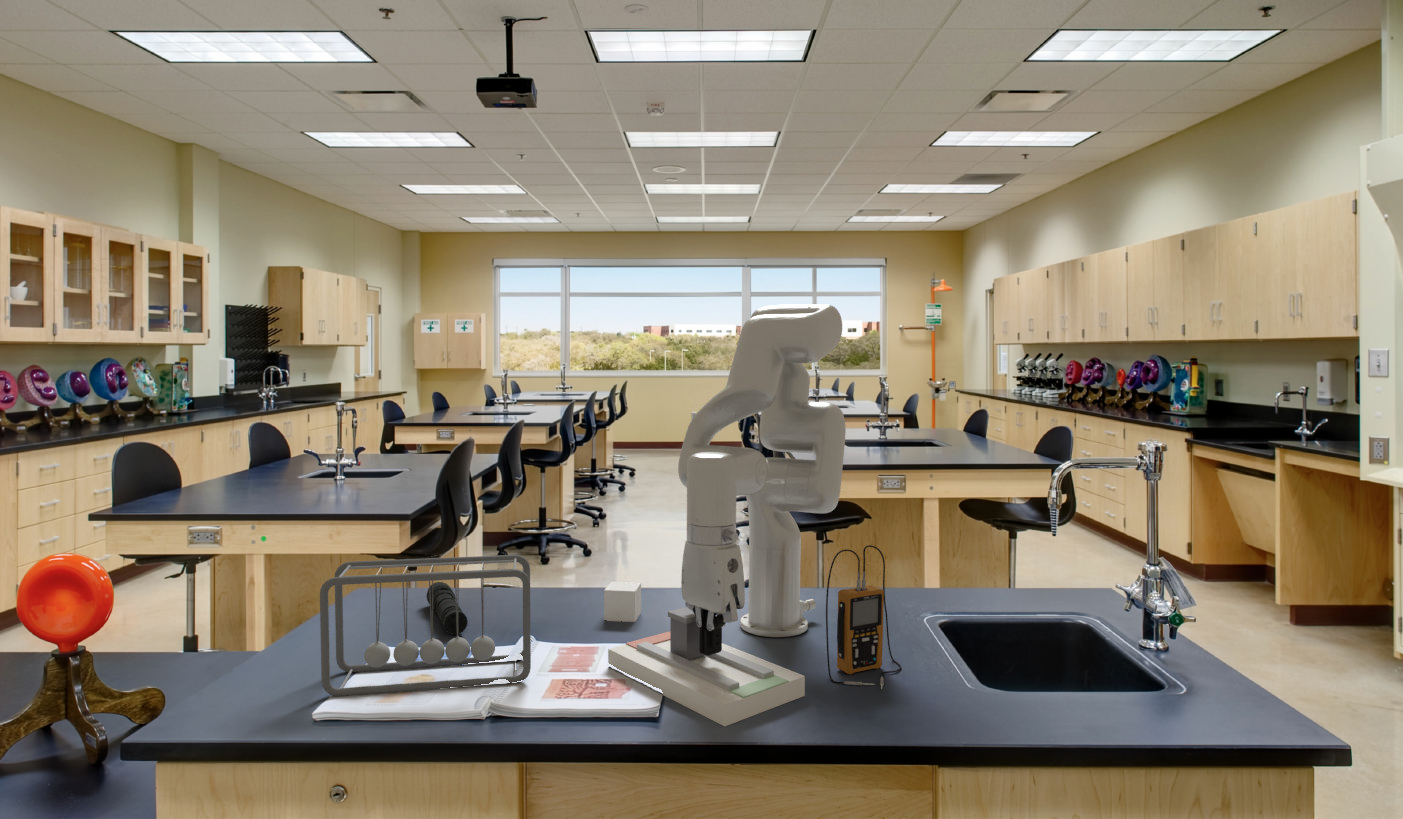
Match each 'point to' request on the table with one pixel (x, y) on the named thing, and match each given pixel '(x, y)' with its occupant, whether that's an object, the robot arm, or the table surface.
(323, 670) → the newton's cradle
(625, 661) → the slider rail board
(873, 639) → the multimeter
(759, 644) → the table surface
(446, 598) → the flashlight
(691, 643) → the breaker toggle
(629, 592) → the white cube
